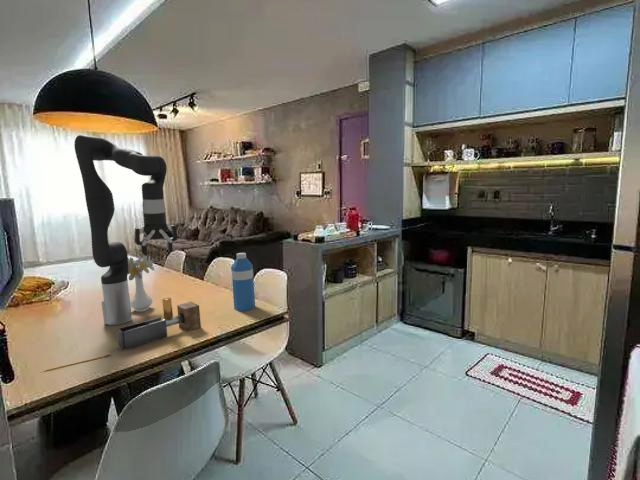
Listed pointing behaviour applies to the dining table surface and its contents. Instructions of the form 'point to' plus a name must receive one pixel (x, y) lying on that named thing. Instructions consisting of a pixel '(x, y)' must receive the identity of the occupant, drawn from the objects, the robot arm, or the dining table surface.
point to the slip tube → (170, 314)
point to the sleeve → (141, 333)
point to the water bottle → (243, 283)
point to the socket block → (189, 316)
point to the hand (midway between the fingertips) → (157, 253)
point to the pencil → (78, 363)
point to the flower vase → (139, 282)
